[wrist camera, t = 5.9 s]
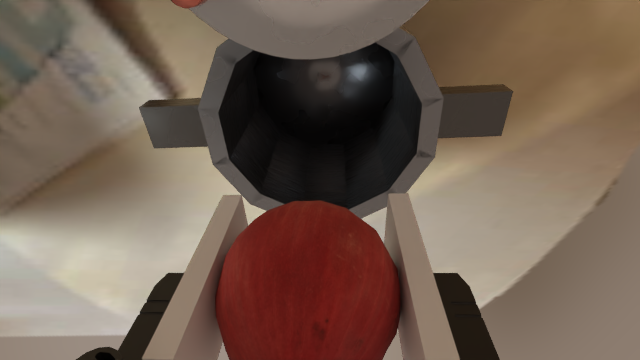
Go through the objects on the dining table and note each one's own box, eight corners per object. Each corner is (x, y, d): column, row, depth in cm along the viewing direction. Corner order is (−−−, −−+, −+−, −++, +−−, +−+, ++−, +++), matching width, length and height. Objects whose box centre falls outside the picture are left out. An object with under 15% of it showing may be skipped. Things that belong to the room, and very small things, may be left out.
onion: (415, 217, 14) (490, 461, 7) (322, 284, 16) (310, 511, 9) (307, 128, 12) (263, 348, 5) (221, 220, 14) (115, 447, 7)
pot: (213, 155, 29) (167, 226, 21) (171, -2, 23) (82, 15, 15) (447, 147, 28) (492, 219, 20) (476, -22, 22) (562, -15, 13)
